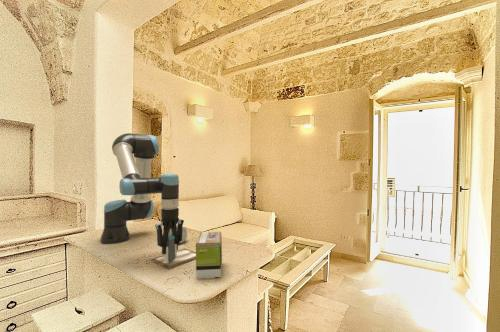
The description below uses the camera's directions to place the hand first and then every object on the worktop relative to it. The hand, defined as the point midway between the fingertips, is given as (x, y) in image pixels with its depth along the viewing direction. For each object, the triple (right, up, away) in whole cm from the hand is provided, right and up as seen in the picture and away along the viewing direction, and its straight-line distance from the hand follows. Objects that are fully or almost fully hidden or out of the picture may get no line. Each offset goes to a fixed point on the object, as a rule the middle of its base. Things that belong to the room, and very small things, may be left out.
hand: (170, 259), depth 108 cm
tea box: (+19, -3, -6) cm, 20 cm away
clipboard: (+1, -2, +7) cm, 7 cm away
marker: (0, -1, 0) cm, 1 cm away
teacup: (-5, -2, +31) cm, 32 cm away
